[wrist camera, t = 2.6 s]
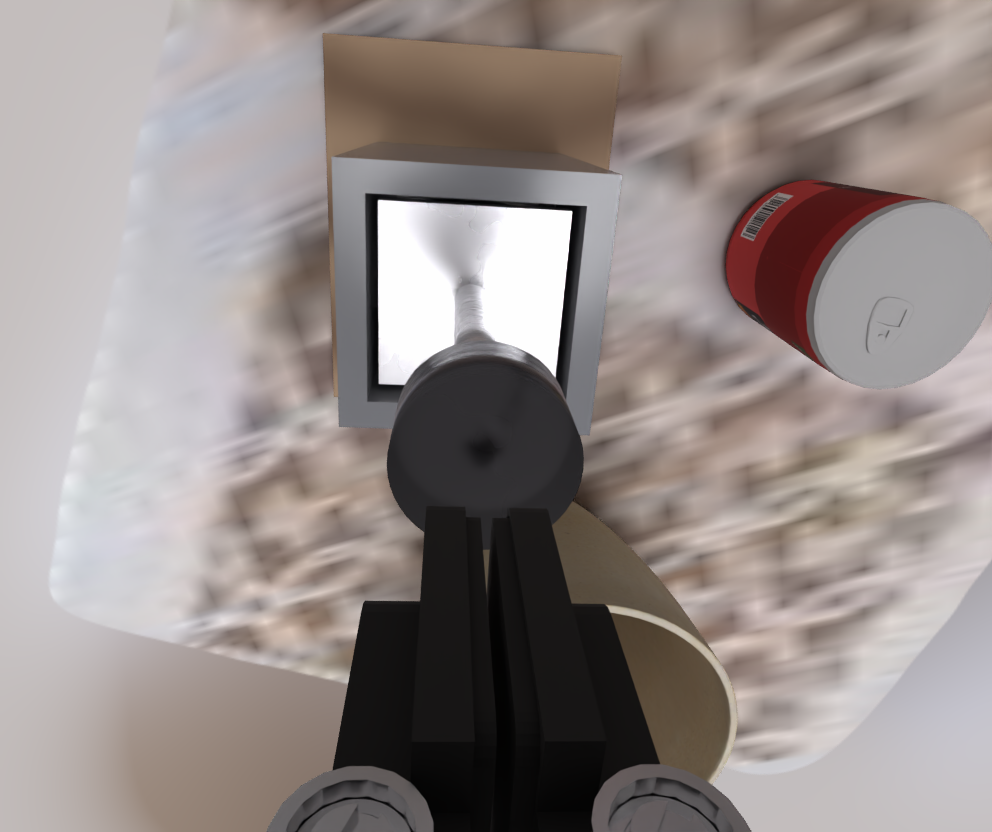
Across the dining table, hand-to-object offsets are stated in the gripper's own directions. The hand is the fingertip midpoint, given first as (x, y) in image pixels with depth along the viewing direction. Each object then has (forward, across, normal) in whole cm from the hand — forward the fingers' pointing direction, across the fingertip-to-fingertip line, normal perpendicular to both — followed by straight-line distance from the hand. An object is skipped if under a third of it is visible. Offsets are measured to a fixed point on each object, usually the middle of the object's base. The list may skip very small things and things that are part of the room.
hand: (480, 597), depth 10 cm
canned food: (+30, -18, -1) cm, 36 cm away
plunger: (+17, 0, 0) cm, 17 cm away
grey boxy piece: (+29, 0, +1) cm, 29 cm away
